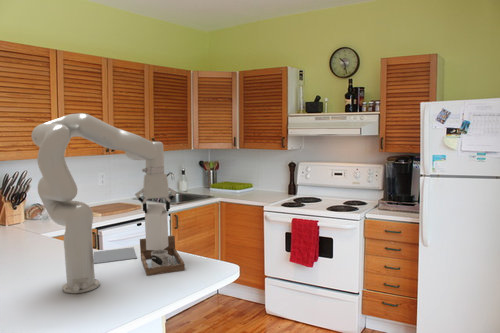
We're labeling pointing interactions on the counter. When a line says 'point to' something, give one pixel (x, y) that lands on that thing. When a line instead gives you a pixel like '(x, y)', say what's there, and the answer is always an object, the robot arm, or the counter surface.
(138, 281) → the counter surface
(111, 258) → the slate mat
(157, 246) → the milk carton
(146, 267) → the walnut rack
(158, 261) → the mug
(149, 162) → the robot arm
